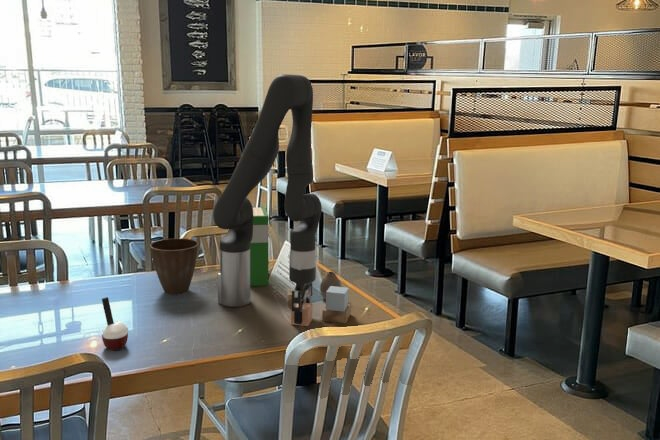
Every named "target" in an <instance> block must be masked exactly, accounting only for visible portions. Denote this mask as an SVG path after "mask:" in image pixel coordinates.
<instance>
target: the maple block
mask: <svg viewBox="0 0 660 440" xmlns="http://www.w3.org/2000/svg"><path fill="white" fill-rule="evenodd" d="M292 290H293V289H292ZM292 290H286V305H287V308H292Z"/></svg>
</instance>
